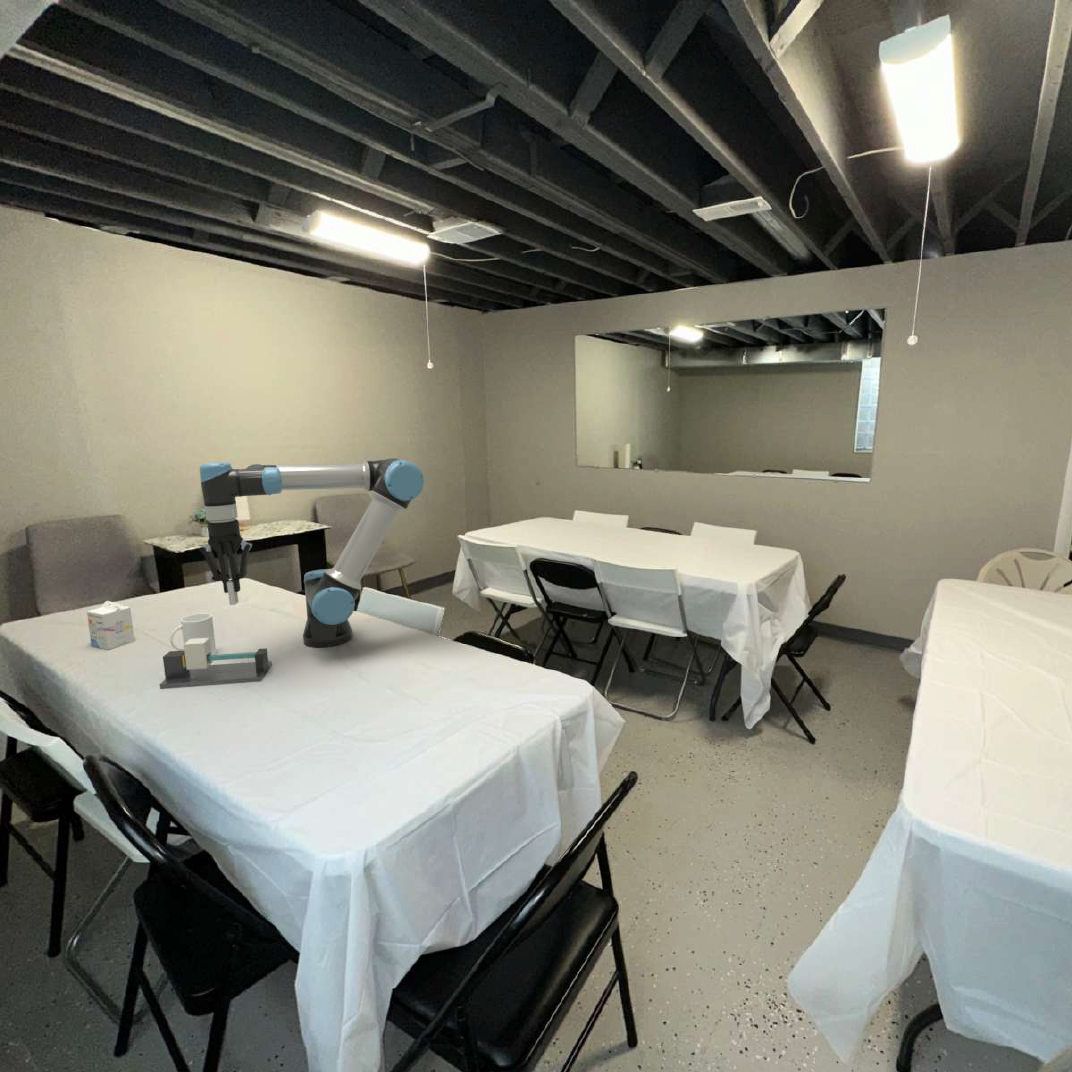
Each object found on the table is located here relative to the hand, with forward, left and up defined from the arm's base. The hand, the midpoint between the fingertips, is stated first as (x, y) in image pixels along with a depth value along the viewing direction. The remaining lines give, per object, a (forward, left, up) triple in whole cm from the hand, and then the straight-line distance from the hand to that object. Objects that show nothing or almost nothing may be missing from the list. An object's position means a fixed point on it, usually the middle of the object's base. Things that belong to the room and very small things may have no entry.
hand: (234, 603), depth 158 cm
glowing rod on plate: (+5, +4, -20) cm, 21 cm away
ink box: (+47, -28, -20) cm, 58 cm away
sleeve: (+9, +4, -16) cm, 19 cm away
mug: (+17, -12, -20) cm, 29 cm away
